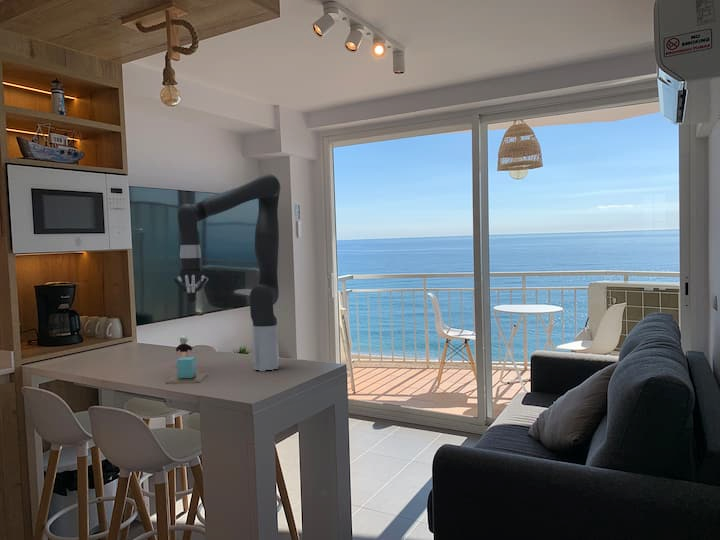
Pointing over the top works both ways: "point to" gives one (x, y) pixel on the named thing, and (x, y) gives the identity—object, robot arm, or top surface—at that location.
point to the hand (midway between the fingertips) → (192, 302)
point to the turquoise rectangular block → (186, 367)
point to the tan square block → (196, 378)
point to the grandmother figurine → (183, 347)
